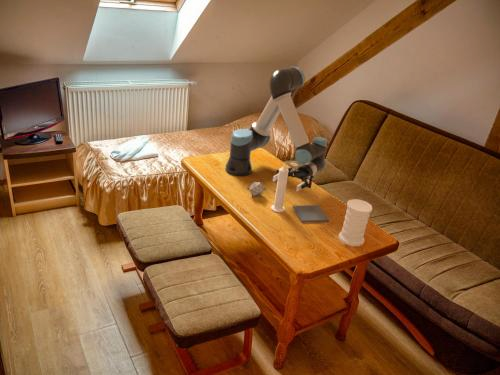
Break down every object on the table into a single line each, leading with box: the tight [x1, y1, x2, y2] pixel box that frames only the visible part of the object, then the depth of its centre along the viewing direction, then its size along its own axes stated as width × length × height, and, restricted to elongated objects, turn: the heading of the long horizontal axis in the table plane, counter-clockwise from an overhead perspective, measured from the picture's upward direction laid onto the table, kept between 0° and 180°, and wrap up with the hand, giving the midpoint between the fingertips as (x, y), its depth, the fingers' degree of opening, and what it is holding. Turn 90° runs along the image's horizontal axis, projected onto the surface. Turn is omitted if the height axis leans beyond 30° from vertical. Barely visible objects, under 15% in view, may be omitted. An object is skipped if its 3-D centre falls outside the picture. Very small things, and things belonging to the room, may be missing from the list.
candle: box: [270, 163, 289, 214], centre depth 212 cm, size 7×7×25 cm
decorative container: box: [338, 198, 373, 247], centre depth 196 cm, size 12×12×18 cm
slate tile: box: [292, 204, 330, 224], centre depth 216 cm, size 14×14×1 cm
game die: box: [247, 180, 266, 198], centre depth 225 cm, size 9×8×10 cm
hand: (285, 183), depth 212 cm, fingers open, 13 cm apart
